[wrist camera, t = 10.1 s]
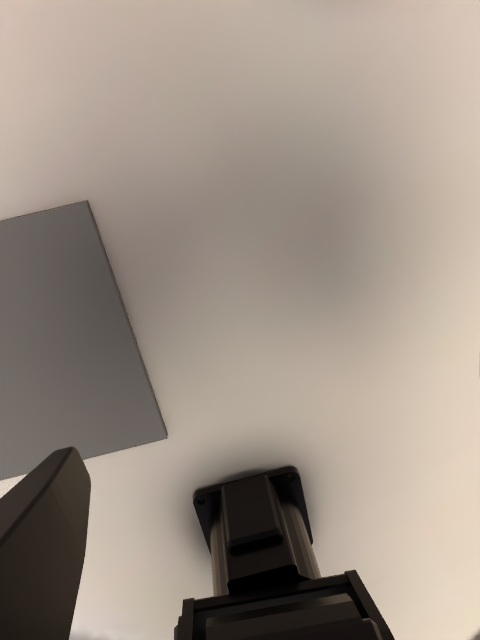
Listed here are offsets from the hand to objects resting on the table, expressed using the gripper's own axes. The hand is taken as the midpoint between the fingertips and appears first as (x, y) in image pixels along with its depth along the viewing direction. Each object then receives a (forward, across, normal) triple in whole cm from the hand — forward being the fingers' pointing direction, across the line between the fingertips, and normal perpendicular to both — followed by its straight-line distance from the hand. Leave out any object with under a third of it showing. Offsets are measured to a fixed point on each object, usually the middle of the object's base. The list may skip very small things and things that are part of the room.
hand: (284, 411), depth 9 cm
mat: (+12, +12, +2) cm, 17 cm away
